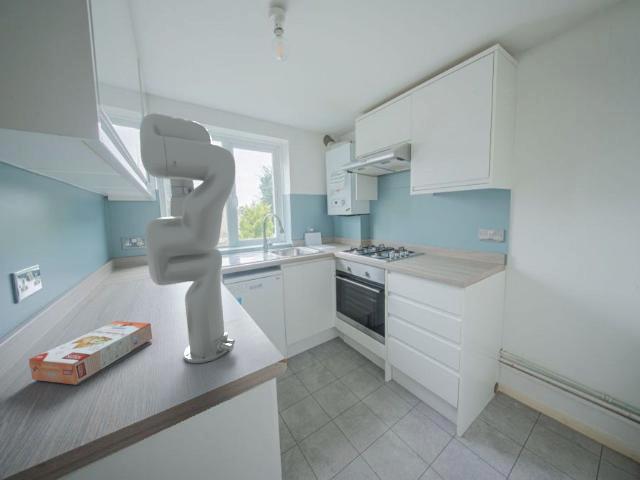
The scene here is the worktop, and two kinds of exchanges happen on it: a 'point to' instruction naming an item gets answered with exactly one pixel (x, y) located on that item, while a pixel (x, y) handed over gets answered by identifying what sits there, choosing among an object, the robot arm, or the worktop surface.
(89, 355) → the cracker box
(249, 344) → the worktop surface
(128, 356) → the mat
